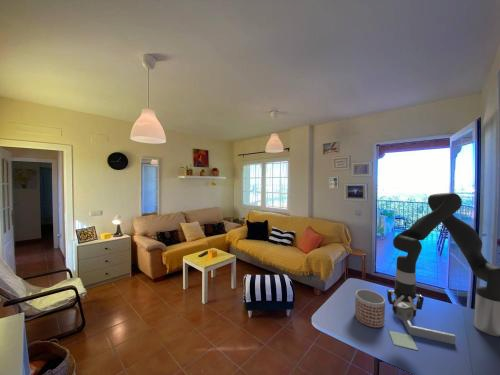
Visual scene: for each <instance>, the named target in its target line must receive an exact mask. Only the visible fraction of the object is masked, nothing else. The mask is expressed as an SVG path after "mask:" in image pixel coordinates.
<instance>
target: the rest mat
mask: <svg viewBox="0 0 500 375" xmlns="http://www.w3.org/2000/svg"><path fill="white" fill-rule="evenodd" d="M388 333H389V336H390V338H391V341H392V343H393V346H398V347H401V348H406V349H408V350H409V349H410V350H414V351H419V349H418V347H417V345H416V343H415V340H414V339H413V337H412V335H410V334H406V333H401V332H397V331H395V330H394V331H393V330H388Z"/></svg>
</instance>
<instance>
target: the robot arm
mask: <svg viewBox="0 0 500 375" xmlns="http://www.w3.org/2000/svg"><path fill="white" fill-rule="evenodd" d="M462 202H463V201H462V198H461V196H460V195H459V194H457V193H455V192H444V193H443V192H442V193H440V192H439V193H433V194H431V195H429V196H428V197H427V204H428V207H429V208H430V209H431V211H430V212H429V213H427V214H425V215H423V216H421V217H420V218H418V219H416V220H415V221H414V222H413V224H412V225H411V226H409V228H407V229H405V230H403V231H402V232H399V233H398V234H396V235H395V237H394V238H393V239H392V245H393V248H395V249H396V250H399V251H401V252H403V253H407V255H399V256H397V258H396V269H395V274H394V276H395V280H394V289H392V290H391V289H389V288H387V289H386V294H387V296H386V297H387V301H388V303H389V305H391V306H392V309H391V310H392V312H393V313H394V312H395V314H396V312H397V307H396V306H397V305H398V303H400V302H401V301H402V302H408V303H409V302H410V304H411V306H412V307H411V308H413V318H415V317H416V316H417V310H422V308H423V305H424V300H425V298H424V297H423V295H422V294H416V283H417V276H416V268H417V261H418V259H419V256H420V255H421V252H422V249H423V244H422V243H421V241H424V240H426V238H427V237H428V236H429V235H430V234H431V233H432V232H433V230H435V228H437V227H438V226H439V225H440V224H441V223H442V224H443V225H444V227H445V229H446V231H447V232H448V233H449V234H450V236H451V238H452V240H453V241H454V243H456V245H457V247H458V248H459V250H460V251H461V253H462V254H463V256H464V257H465V259H466V261H467V263H468V265H469V267H470V269H471V271H472V273H473V274H474V275H475V277H477V278H478V279H480V280H481V281H484V282H486V286H481V285H480V286H476V290H475V302H474V303H475V306H474V318H473V319H474V320H473V326H474V327H475V328H476V329H477V330H479V331H480V332H482V333H484V334H487V335H490V336H493V337H500V266H498V265H496V264H492V263H490V262H489V261H487V259H486V258H485V257H484V255H483V253H482V249H483V241H482V239H481V237H480V236H479V235H478V234H479V233H477V232H476V230H475V229H474V228H473V227H472V225H471V226H470V225H469V224H468V223H466V222H465V221H463V220H461V219H460V218H459V217H456V216H455V213H457V212H458V210H460V209H461V207H462V205H463V203H462ZM393 295H394V298H392V297H393ZM395 295H396V296H395ZM413 299H414V300H415V299H416V304H415V301H414V302H413ZM395 314H394V315H395Z"/></svg>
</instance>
